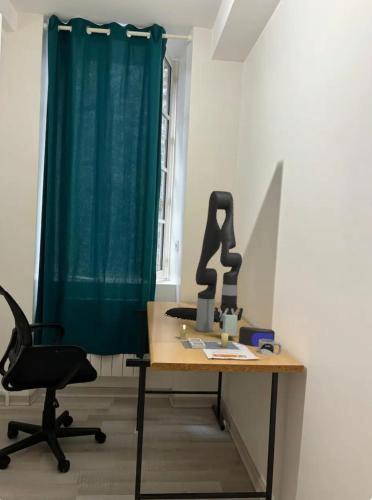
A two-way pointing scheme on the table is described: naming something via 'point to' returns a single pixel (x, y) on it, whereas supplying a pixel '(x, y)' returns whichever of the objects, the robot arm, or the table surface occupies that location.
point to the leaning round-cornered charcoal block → (254, 335)
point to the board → (209, 343)
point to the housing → (229, 325)
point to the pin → (183, 331)
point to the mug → (268, 346)
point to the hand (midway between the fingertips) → (227, 328)
